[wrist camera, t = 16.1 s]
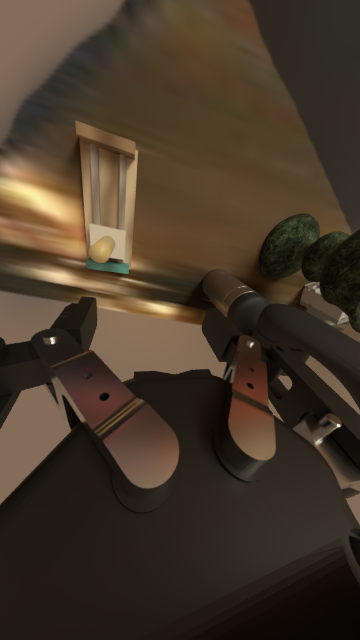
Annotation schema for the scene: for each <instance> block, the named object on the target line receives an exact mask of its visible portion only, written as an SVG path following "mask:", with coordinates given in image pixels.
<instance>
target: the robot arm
mask: <svg viewBox="0 0 360 640" xmlns="http://www.w3.org/2000/svg"><path fill="white" fill-rule="evenodd" d="M202 289H203V292H204V293H205V294H206V296H207V297H208V298H209V299H210V300H211V302H212V303H213V304H214V305H215V306H216V307H217V309H215V308H208V310H207V312H206V315H205V318H204V321H203V324H202V332H203V334H204V336H205V337H206V339H207V341H208V343H209V345H210V346H211V348H212V350H213V352H214V353H215V355H216V357H217V359H218V361H219V362H227V364H226V366H225V369H224V372H223V376H222V378H220V377H217V376H214V375H212V374H211V372H210V370H209V369H200V370H190V371H186V372H183V373H180V374H169V373H163V372H157V371H143V372H142V371H141V372H134V378H133V379H129V380H127V381H124V382H121V380H120V379H119V378H118V377H117V376H116V375H115V374H114V373H113V372H112V371H111V370H110V369H109V367H108V366H107V365H106V364H105V363H104V362H103V361H102V360H101V359H100V358H99V357H98V356H97V355H96V353H95V352H94V351H92V350H89V348H90V345H91V342H92V339H93V336H94V333H95V330H96V326H97V305H96V298H94V297H83V296H82V298H81V299H80V301H79V302H78V304H75V303H72V304H70V305H69V306H66V307H65V308H64V310H63V311H62V313H61V314H60V315H59V317H58V318H57V319H56V321H55V322H54V324H53V325H52V326H51V328H50V329H45V330H42V331H40V332H38V333H36V334H35V335H33V336H32V338H31V341H27V342H21V343H15V344H7V345H6V344H5V341H4V340H3V339H2V338H0V429H1V427H2V425H3V423H4V421H5V420H6V418H7V416H8V414H9V412H10V411H11V409H12V407H13V405H14V403H15V401H16V400H17V398H18V396H19V394H20V392H21V391H22V390H25V389H29V388H33V387H36V386H40V385H45V387H46V389H47V390H48V392H49V394H50V395H51V397H52V399H53V401H54V403H55V404H56V406H57V408H58V410H59V411H60V413H61V416H62V418H63V420H64V423H65V425H66V427H67V429H68V431H69V434H68V435H67V436H66V437H65V438H64V439H63V440H62V441H61V442H60V443H59V444H58V445H57V446H56V448H54V449H53V450H52V451H51V452H50V454H49V455H48V456H47V457H46V458H45V459H44V460H43V461H42V462H41V463H40V464H39V465H38V466H37V467H36V468H35V469H34V470H33V471H32V472H31V473H30V474H29V475H28V476H27V477H26V478H25V479H24V480H23V481H22V482H21V483H20V485H19V486H18V487H17V488H16V489H15V490H14V491H13V492H12V493H11V494H10V495H9V496H8V497H7V498H6V499H5V500H4V501H3V502H2V503H1V504H0V640H360V525H359V523H358V522H357V520H356V518H355V517H354V515H353V513H352V511H351V509H350V507H349V505H348V503H347V501H346V499H345V498H350V497H352V496H355V495H357V494H359V493H360V415H359V414H358V413H357V412H356V411H355V410H354V409H353V408H352V407H351V406H349V404H348V403H347V402H345V401H344V400H343V399H342V398H341V397H340V396H339V395H338V394H337V393H336V392H335V391H334V390H333V389H332V388H331V387H330V386H328V385H327V384H326V383H325V382H324V381H323V380H322V379H321V378H320V377H319V376H318V375H317V374H316V373H315V372H314V371H312V369H311V368H309V367H308V366H307V365H306V364H305V362H306V361H307V359H308V358H309V356H310V355H311V356H312V357H313V358H315V359H316V360H317V361H318V362H320V363H321V364H322V365H323V366H325V367H326V368H327V369H328V370H329V371H330V372H331V373H332V374H333V375H334V376H335V377H336V378H337V379H338V380H339V381H340V382H341V383H342V384H343V385H344V387H345V388H346V389H347V391H348V392H349V393H350V395H351V396H352V398H353V399H354V401H355V402H356V404H357V406H358V407H359V409H360V343H359V342H357V341H356V340H354V339H352V338H350V337H349V336H347V335H345V334H344V333H342V332H341V331H339V330H337V329H336V328H334V327H332V326H331V325H329V324H327V323H326V322H324V321H322V320H320V319H318V318H317V317H315V316H313V315H311V314H309V313H307V312H305V311H303V310H301V309H298V308H296V307H293V306H289V305H285V304H270V305H269V303H268V301H267V299H266V298H264V297H263V296H262V295H260V294H259V293H257V292H256V291H254V290H253V289H251V288H249V287H248V286H246V285H245V284H243V283H242V282H240V281H239V280H237V279H236V278H234V277H233V276H231V275H230V274H229V273H227V272H226V271H224V270H221V269H216V270H213V271H211V272H209V273H208V274H207V275H206V276H205V278H204V280H203V283H202ZM279 375H283V376H289V378H290V379H291V380H292V387H291V389H290V390H289V391H288V390H287V389H286V388H285V386H284V385H283V384H282V382H281V381H280V380H279V379H278V377H279ZM268 398H269V400H270V401H271V403H272V404H273V406H274V407H275V409H276V410H277V412H278V413H279V415H280V417H281V418H282V420H283V421H284V422H282V421H281V420H280V419H278V418H277V417H276V416H274V415H273V413H272V411H270V410H269V403H268Z"/></svg>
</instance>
